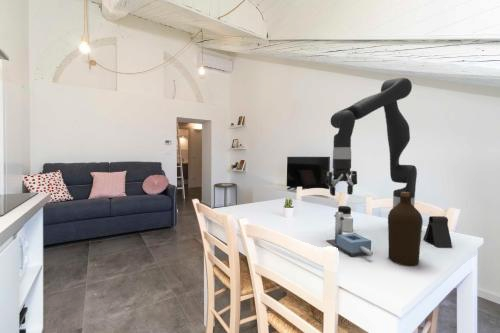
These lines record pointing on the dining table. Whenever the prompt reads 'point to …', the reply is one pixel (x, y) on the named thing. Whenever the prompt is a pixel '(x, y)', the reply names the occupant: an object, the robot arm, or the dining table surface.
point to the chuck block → (354, 245)
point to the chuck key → (338, 224)
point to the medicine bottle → (346, 218)
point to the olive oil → (404, 232)
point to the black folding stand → (438, 232)
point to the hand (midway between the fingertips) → (341, 194)
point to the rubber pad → (332, 242)
